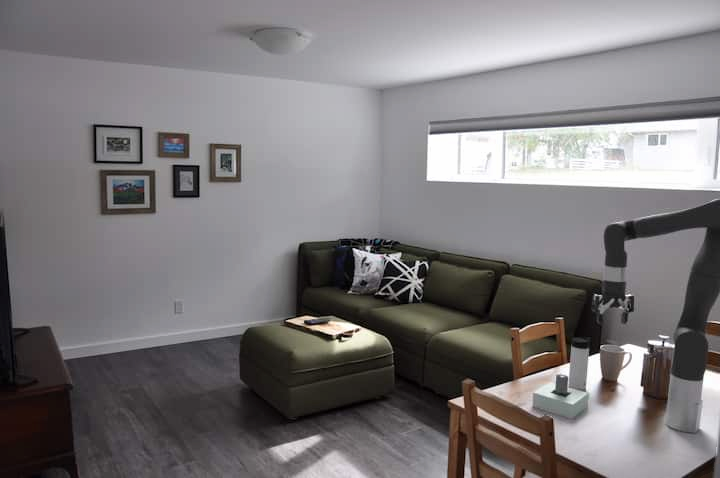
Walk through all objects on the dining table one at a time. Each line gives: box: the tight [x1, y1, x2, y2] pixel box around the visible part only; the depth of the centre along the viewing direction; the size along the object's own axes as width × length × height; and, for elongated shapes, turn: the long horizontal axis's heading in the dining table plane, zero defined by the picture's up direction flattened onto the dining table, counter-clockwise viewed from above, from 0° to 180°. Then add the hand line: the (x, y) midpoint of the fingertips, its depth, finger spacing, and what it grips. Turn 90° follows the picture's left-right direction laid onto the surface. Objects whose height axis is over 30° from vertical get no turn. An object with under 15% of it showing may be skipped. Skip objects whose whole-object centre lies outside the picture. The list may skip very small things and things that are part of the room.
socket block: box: [532, 381, 589, 420], centre depth 195 cm, size 14×14×5 cm
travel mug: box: [568, 336, 592, 392], centre depth 211 cm, size 6×7×20 cm
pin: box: [555, 373, 569, 397], centre depth 195 cm, size 4×4×10 cm
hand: (611, 323), depth 197 cm, fingers open, 8 cm apart
